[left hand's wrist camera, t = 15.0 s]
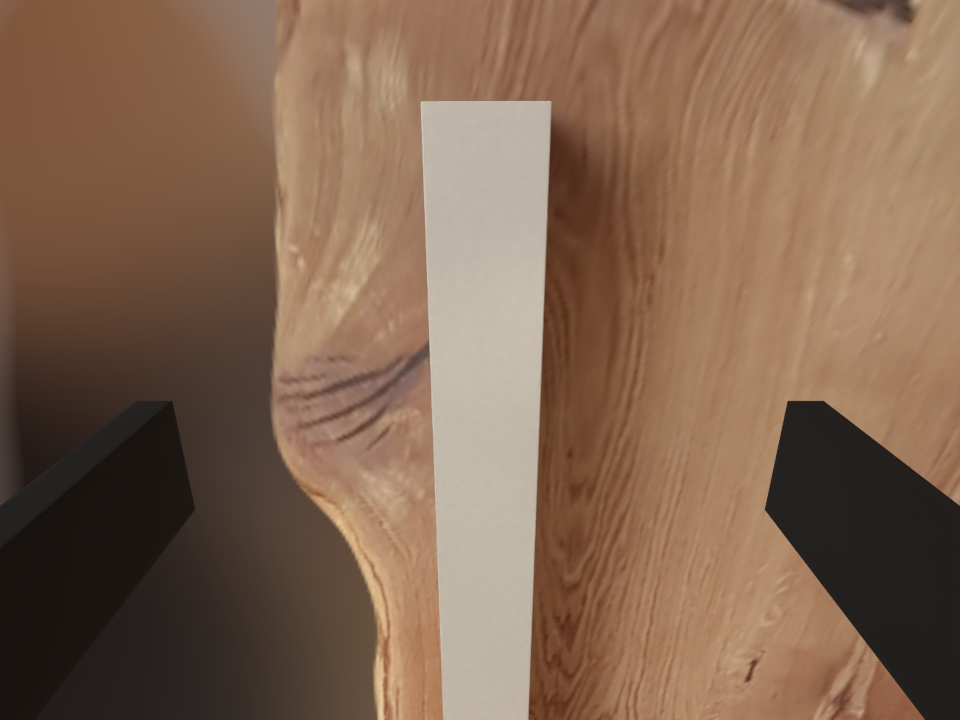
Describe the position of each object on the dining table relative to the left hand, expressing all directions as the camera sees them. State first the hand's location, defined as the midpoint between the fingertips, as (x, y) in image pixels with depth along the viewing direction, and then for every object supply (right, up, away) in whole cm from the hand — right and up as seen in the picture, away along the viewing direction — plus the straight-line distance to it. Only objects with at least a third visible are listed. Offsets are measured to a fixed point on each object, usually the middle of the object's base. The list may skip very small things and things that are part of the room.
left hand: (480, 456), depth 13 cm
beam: (0, -19, +33) cm, 38 cm away
